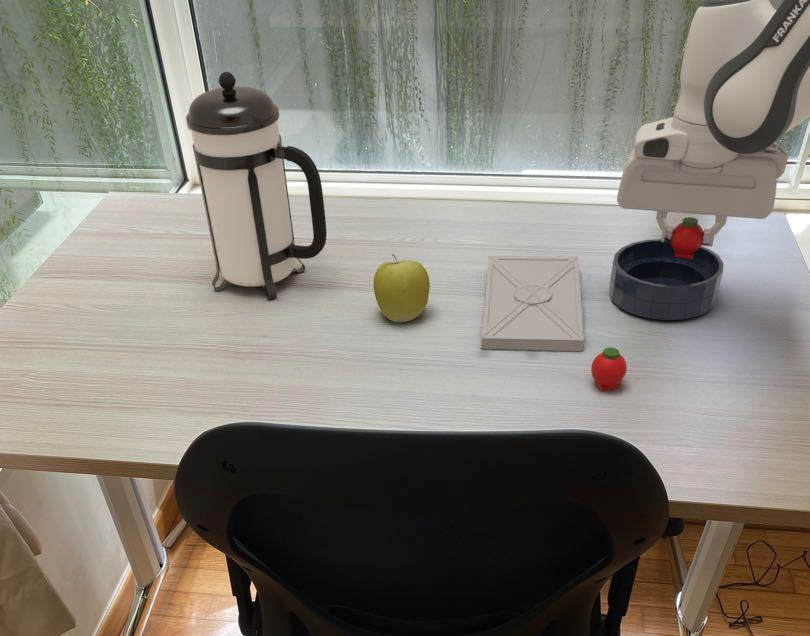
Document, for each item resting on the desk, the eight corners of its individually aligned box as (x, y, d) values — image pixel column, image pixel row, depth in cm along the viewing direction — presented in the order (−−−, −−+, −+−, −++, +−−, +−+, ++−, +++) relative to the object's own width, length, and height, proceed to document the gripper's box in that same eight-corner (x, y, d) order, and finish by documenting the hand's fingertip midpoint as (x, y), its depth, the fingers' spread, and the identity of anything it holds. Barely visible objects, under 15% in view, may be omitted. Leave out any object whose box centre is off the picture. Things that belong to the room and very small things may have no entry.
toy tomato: (701, 248, 123) (707, 214, 120) (699, 262, 120) (706, 228, 117) (669, 246, 124) (675, 212, 121) (666, 259, 121) (672, 225, 118)
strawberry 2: (615, 373, 114) (620, 340, 111) (629, 391, 111) (635, 357, 108) (584, 378, 114) (587, 345, 110) (597, 396, 111) (601, 363, 107)
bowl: (717, 278, 132) (724, 243, 128) (713, 328, 122) (721, 292, 118) (615, 269, 136) (620, 235, 132) (603, 317, 125) (607, 281, 121)
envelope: (481, 350, 120) (582, 352, 119) (481, 336, 119) (583, 338, 117) (488, 267, 137) (577, 268, 136) (488, 254, 136) (578, 255, 134)
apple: (431, 324, 123) (408, 258, 118) (380, 334, 127) (355, 271, 121) (443, 298, 129) (422, 234, 123) (394, 308, 132) (371, 246, 126)
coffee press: (222, 313, 130) (178, 97, 110) (205, 268, 142) (163, 65, 121) (334, 292, 134) (312, 79, 113) (309, 250, 145) (285, 49, 125)
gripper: (790, 134, 112) (764, 239, 121) (628, 126, 116) (615, 227, 126) (792, 152, 107) (764, 259, 117) (623, 142, 112) (610, 245, 121)
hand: (686, 242), depth 121 cm, fingers closed on toy tomato, 4 cm apart
